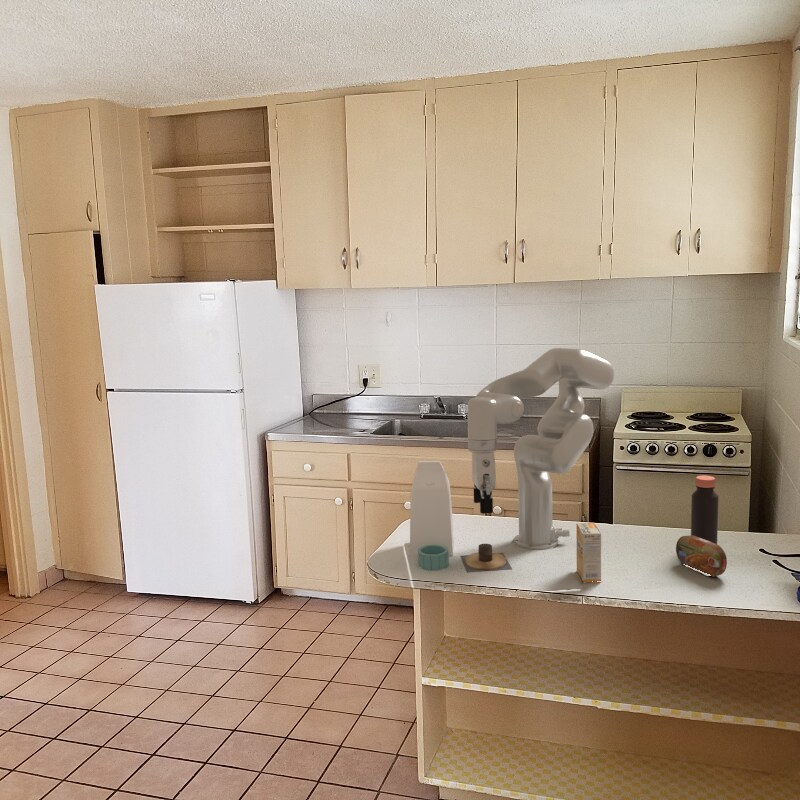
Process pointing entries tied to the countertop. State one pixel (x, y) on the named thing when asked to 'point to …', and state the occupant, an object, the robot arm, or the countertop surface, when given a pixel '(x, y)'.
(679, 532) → the countertop surface
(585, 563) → the supplement box
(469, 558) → the lid
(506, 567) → the mat
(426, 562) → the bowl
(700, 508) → the bottle
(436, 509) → the milk
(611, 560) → the countertop surface
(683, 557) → the tin
